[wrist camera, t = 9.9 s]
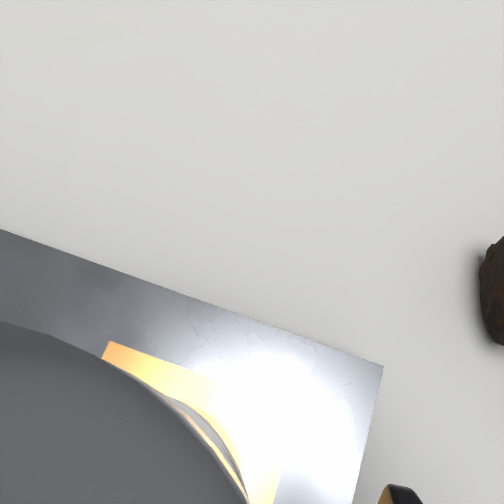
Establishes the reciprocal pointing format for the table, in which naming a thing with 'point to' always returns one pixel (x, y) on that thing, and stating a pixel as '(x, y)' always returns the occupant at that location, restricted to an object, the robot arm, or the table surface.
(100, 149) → the table surface
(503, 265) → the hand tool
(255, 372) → the plate
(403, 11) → the table surface
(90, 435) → the steel plug
